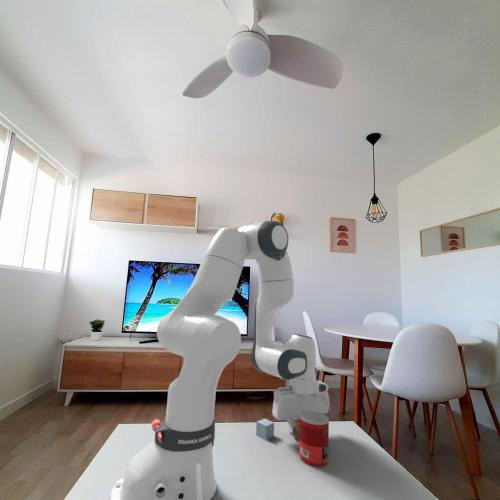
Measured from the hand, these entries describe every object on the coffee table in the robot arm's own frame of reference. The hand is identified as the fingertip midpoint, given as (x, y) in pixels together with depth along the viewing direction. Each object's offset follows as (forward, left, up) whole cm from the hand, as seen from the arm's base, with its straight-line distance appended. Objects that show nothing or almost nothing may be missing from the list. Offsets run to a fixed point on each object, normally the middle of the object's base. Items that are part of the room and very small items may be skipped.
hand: (300, 430), depth 91 cm
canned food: (-4, -12, -2) cm, 13 cm away
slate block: (-11, +4, -2) cm, 12 cm away
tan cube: (0, 0, -2) cm, 2 cm away
